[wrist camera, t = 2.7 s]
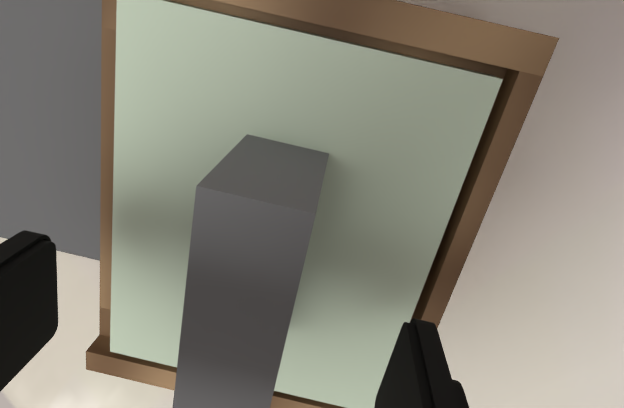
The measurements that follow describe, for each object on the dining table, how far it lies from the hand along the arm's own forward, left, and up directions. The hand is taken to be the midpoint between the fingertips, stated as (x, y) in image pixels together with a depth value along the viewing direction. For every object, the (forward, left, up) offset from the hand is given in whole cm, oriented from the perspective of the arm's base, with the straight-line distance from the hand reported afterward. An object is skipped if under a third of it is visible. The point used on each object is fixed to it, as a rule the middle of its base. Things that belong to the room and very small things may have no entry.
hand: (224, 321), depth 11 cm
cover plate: (-1, 0, -5) cm, 5 cm away
